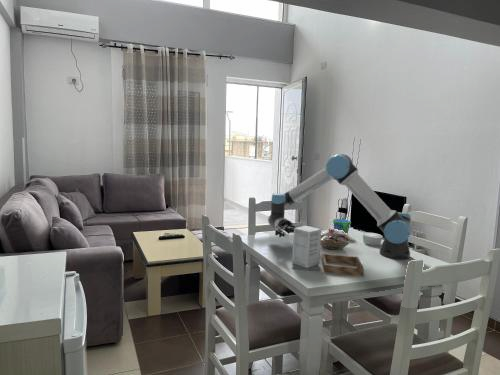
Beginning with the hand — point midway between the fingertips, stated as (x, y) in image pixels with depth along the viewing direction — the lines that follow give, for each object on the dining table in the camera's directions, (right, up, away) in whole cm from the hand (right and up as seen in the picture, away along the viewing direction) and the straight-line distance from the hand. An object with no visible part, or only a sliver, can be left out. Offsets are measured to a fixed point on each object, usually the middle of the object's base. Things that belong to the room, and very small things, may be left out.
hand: (301, 236), depth 180 cm
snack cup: (+31, -7, +53) cm, 62 cm away
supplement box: (+1, -12, -5) cm, 13 cm away
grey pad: (+1, -13, -5) cm, 14 cm away
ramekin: (+47, -10, +41) cm, 63 cm away
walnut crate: (+18, -14, -6) cm, 23 cm away
